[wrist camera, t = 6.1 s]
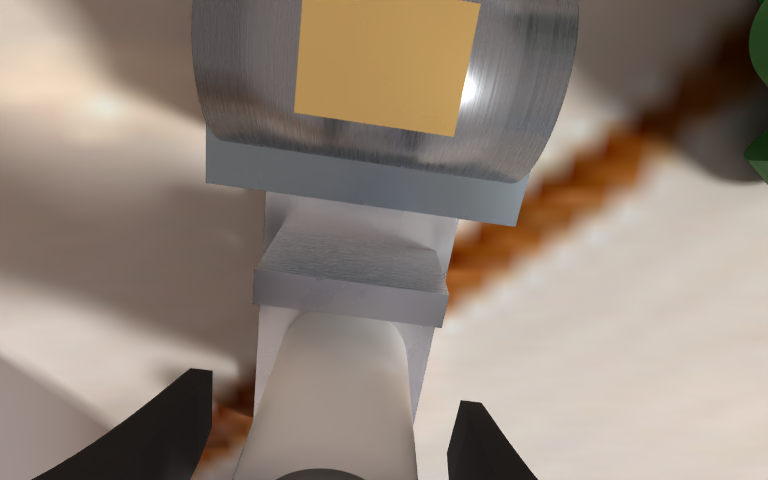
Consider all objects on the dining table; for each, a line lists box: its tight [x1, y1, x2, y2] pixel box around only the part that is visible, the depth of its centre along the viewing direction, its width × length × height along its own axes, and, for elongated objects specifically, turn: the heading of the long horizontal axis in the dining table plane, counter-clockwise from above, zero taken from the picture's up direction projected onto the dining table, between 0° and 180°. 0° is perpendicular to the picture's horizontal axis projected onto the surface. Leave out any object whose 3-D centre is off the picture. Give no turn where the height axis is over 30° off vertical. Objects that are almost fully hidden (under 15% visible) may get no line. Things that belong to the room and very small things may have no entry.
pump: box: [232, 311, 418, 480], centre depth 13 cm, size 4×4×7 cm
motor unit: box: [192, 0, 579, 424], centre depth 12 cm, size 17×7×7 cm, turn 172°
